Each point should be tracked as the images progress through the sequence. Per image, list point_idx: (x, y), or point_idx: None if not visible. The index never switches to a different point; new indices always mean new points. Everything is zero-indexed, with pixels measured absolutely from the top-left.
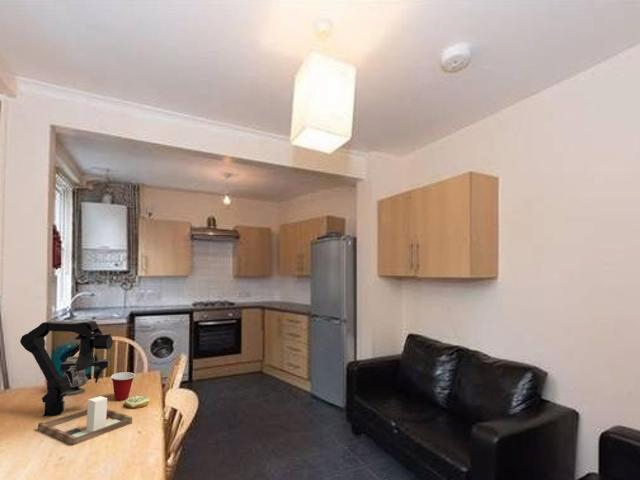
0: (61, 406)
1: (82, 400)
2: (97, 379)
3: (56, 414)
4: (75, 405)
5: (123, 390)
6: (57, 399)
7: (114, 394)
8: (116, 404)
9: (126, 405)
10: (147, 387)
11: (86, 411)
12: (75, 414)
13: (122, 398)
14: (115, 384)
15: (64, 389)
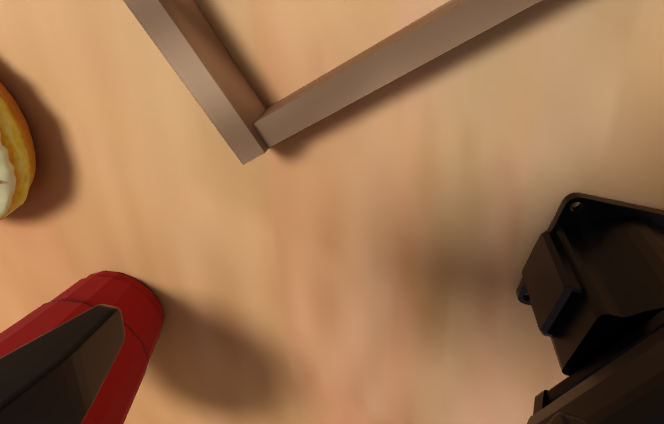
0: (570, 264)
1: (376, 403)
2: (10, 355)
3: (600, 200)
4: (424, 344)
5: (38, 319)
6: (658, 321)
7: (143, 337)
8: (130, 217)
9: (3, 96)
10: None
11: (336, 73)
12: (450, 9)
13: (94, 279)
14: None
15: (644, 410)
